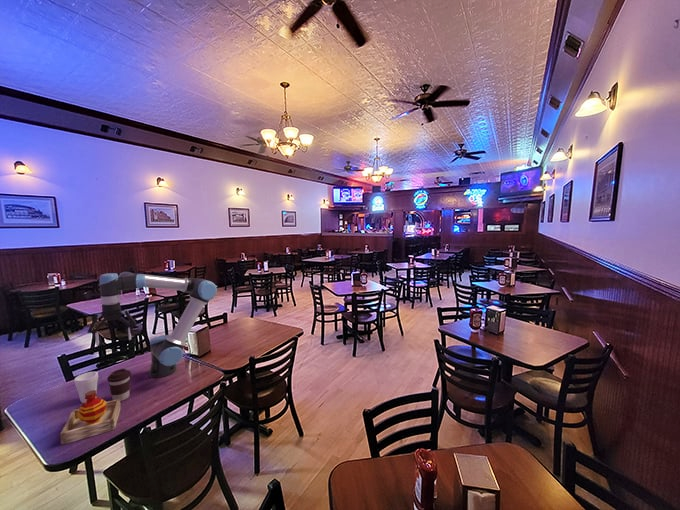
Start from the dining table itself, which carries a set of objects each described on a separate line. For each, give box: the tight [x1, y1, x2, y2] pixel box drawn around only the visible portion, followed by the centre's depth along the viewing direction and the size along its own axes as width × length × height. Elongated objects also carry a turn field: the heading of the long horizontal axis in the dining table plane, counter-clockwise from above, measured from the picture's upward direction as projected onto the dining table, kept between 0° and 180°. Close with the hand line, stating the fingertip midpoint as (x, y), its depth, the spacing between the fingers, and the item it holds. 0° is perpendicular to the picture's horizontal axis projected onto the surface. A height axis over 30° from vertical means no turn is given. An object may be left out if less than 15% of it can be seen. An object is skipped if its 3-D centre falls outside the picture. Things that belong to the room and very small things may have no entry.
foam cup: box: [74, 371, 99, 404], centre depth 151 cm, size 10×9×13 cm
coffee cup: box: [106, 368, 132, 402], centre depth 152 cm, size 10×10×15 cm
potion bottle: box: [77, 390, 107, 426], centre depth 131 cm, size 10×10×15 cm
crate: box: [59, 398, 122, 446], centre depth 132 cm, size 18×18×5 cm
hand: (114, 341), depth 150 cm, fingers open, 13 cm apart
